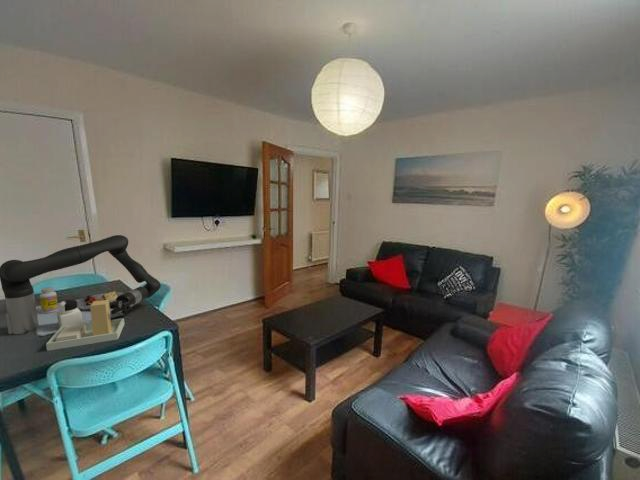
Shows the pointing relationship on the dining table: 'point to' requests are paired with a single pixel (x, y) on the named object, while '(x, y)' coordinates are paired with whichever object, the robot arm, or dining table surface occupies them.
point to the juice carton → (101, 317)
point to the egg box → (72, 332)
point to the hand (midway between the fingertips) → (103, 312)
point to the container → (69, 313)
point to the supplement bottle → (48, 300)
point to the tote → (87, 336)
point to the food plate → (97, 299)
